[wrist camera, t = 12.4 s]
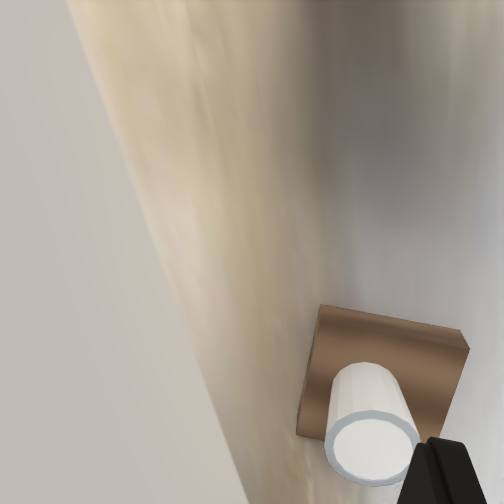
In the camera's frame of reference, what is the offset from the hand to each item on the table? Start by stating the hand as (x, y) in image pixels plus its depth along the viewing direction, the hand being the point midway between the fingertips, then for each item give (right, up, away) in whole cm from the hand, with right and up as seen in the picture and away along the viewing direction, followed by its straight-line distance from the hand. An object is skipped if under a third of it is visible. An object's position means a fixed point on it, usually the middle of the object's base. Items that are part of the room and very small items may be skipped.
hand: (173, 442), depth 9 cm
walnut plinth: (+13, -7, +33) cm, 36 cm away
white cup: (+11, -8, +30) cm, 33 cm away
